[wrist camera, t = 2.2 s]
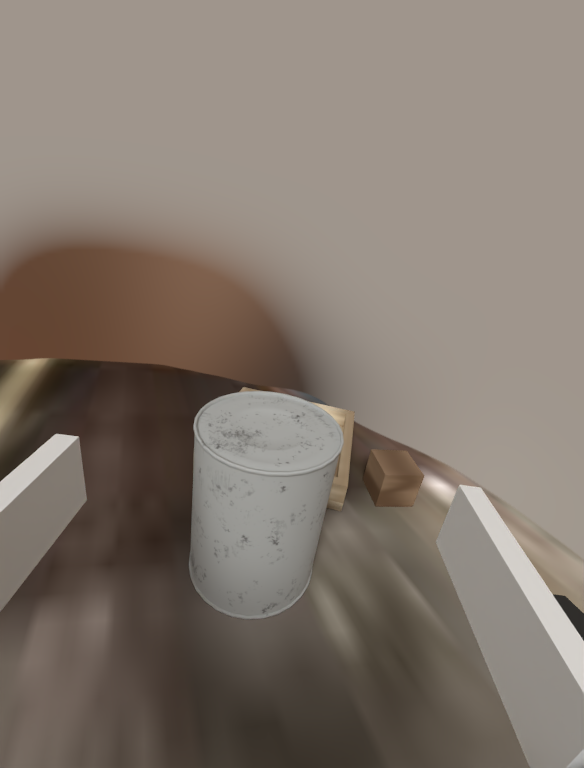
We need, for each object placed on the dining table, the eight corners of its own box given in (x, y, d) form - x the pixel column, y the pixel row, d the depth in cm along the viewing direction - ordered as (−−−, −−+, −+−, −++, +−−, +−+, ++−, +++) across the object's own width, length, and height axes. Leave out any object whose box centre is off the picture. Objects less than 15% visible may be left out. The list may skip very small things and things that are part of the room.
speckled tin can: (202, 507, 32) (208, 384, 27) (307, 517, 33) (333, 398, 28) (173, 615, 24) (175, 463, 19) (317, 624, 25) (357, 481, 19)
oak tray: (192, 473, 36) (193, 448, 35) (241, 406, 50) (243, 387, 48) (341, 511, 34) (347, 486, 33) (349, 431, 48) (354, 411, 47)
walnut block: (375, 507, 36) (385, 474, 34) (362, 479, 39) (371, 449, 38) (412, 507, 37) (424, 475, 35) (396, 480, 40) (406, 450, 38)
